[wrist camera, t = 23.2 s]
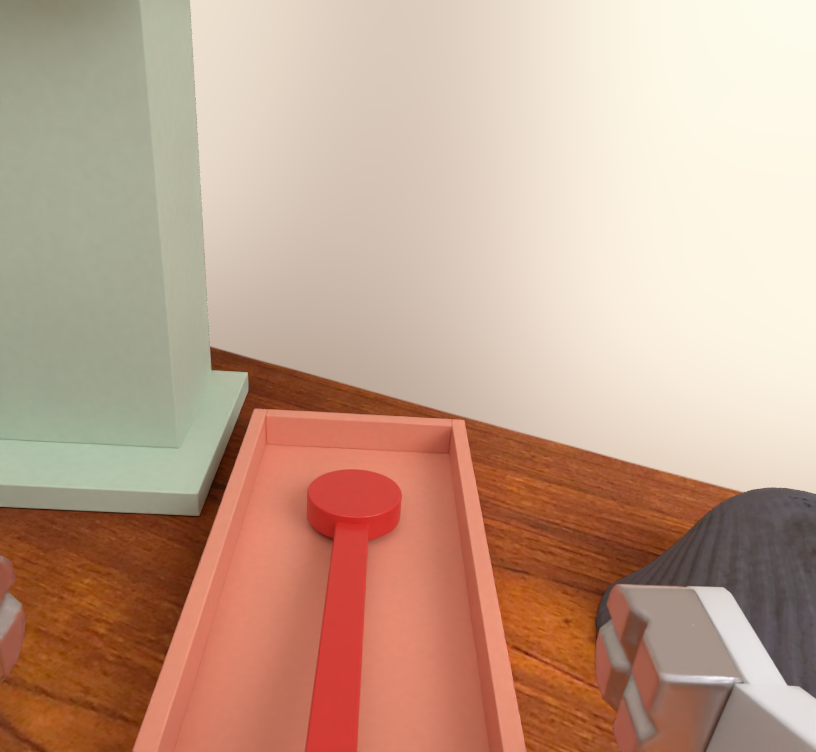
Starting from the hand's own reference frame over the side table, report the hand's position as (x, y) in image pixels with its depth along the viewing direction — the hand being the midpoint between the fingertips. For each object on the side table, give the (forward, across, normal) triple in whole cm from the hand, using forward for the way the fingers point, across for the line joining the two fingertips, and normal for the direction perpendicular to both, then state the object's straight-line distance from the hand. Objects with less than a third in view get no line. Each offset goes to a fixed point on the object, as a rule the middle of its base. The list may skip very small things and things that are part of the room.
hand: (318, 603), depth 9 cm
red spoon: (+15, 0, +15) cm, 21 cm away
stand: (+29, +15, +17) cm, 36 cm away
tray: (+17, 0, +16) cm, 24 cm away
